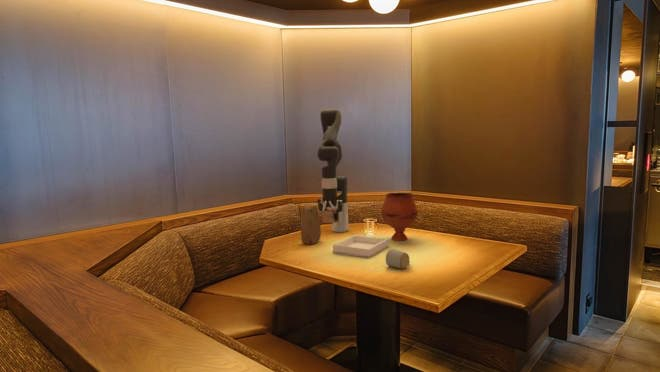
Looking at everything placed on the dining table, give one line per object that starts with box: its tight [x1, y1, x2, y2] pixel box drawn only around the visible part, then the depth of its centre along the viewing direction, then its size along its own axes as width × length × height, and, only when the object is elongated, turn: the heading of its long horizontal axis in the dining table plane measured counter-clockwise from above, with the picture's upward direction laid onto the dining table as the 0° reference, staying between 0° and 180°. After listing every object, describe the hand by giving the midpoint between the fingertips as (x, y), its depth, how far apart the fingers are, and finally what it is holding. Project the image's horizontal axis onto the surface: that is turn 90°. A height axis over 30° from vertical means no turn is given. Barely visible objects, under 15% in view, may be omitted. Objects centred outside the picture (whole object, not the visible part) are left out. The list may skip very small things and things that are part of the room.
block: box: [300, 205, 322, 245], centre depth 230 cm, size 11×8×20 cm
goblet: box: [381, 192, 418, 241], centre depth 231 cm, size 19×19×25 cm
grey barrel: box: [385, 248, 411, 270], centre depth 185 cm, size 11×8×8 cm
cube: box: [321, 208, 339, 224], centre depth 213 cm, size 6×6×6 cm
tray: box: [332, 234, 390, 259], centre depth 213 cm, size 22×20×4 cm
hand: (330, 219), depth 213 cm, fingers closed on cube, 6 cm apart
